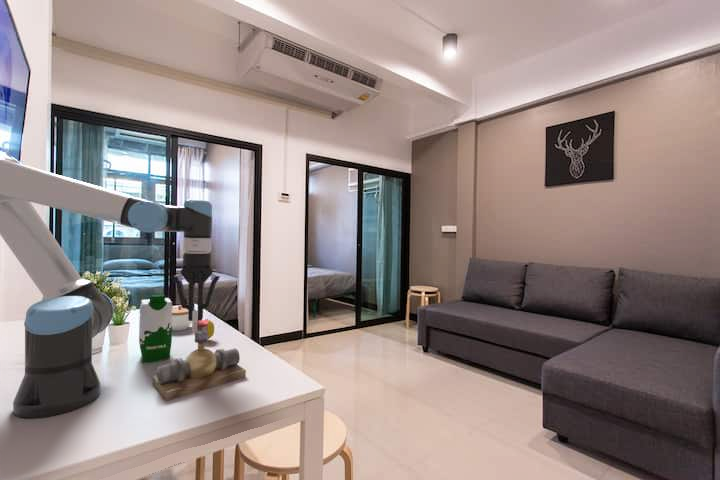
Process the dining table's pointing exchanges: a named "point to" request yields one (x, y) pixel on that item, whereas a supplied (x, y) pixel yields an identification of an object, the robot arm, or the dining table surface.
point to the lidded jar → (180, 318)
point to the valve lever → (202, 332)
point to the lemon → (210, 328)
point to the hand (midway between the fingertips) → (195, 331)
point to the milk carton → (155, 328)
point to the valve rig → (198, 372)
